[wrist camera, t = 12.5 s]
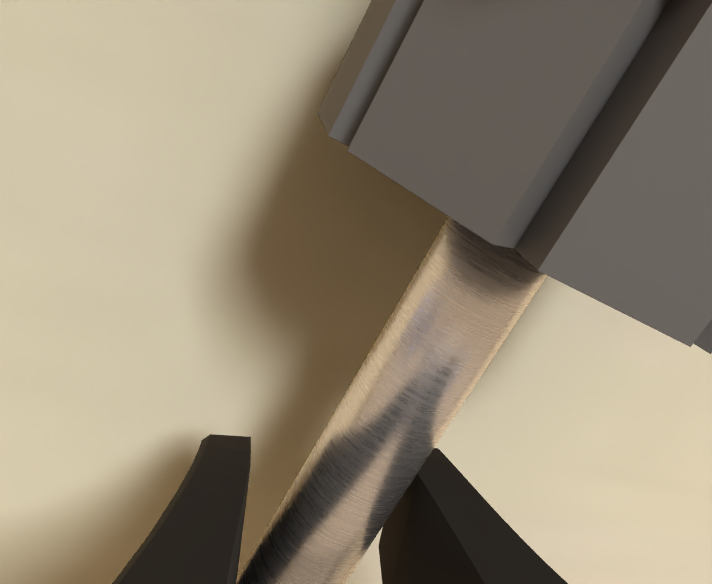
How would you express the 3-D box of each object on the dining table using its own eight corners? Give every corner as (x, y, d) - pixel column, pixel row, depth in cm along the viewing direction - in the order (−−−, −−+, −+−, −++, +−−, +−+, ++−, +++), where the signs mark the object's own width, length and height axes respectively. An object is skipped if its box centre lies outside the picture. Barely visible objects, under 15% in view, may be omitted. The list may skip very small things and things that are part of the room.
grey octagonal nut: (309, 97, 9) (347, 176, 5) (386, -65, 9) (524, -168, 4) (582, 242, 11) (823, 413, 6) (667, 113, 10) (1014, 194, 5)
